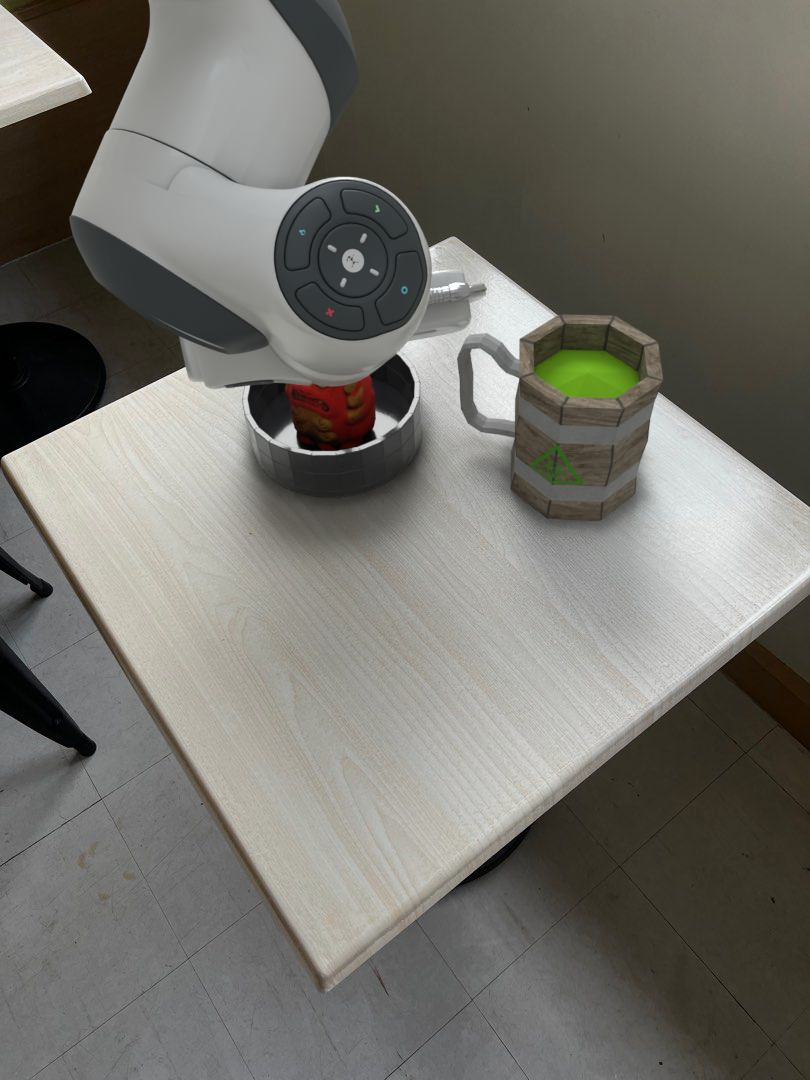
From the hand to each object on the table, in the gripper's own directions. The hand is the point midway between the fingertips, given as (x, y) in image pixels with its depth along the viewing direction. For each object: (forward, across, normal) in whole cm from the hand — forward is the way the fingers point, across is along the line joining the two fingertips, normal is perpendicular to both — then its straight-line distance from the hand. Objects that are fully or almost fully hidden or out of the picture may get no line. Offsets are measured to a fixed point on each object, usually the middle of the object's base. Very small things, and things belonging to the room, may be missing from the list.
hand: (321, 339), depth 68 cm
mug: (+2, -16, +13) cm, 21 cm away
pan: (+7, 0, +7) cm, 10 cm away
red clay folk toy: (+7, 0, +7) cm, 10 cm away
